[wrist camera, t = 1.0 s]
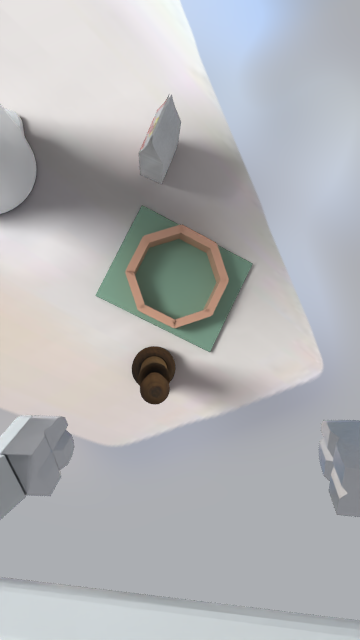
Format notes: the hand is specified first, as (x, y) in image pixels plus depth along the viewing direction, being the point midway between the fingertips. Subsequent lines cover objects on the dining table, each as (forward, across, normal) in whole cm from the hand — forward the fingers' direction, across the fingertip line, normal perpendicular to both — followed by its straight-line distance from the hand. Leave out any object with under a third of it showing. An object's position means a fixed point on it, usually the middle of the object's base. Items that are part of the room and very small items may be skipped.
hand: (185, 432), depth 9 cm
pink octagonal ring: (+38, +7, +7) cm, 40 cm away
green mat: (+38, +7, +7) cm, 40 cm away
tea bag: (+47, +9, -10) cm, 49 cm away
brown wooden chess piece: (+31, +11, +19) cm, 38 cm away
